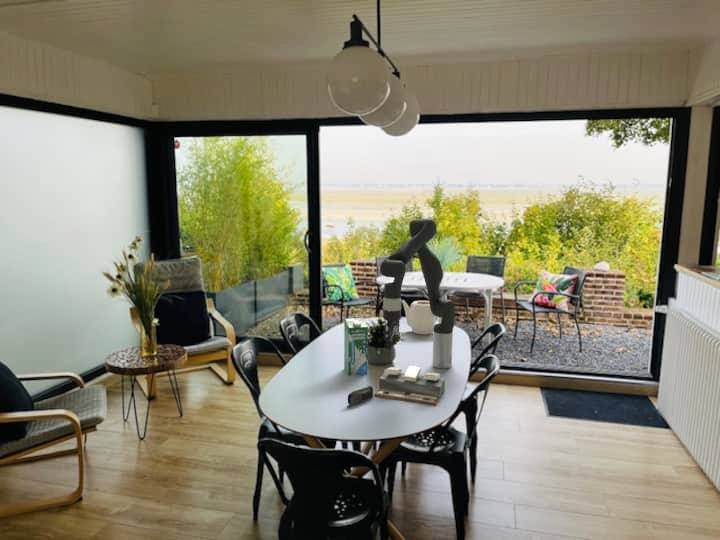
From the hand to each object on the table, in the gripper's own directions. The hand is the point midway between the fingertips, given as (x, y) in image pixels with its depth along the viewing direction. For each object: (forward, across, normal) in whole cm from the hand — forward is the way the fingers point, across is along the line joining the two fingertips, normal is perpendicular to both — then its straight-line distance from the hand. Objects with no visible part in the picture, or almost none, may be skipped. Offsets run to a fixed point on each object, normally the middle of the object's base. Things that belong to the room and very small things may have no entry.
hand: (391, 346), depth 214 cm
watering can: (+20, -96, -11) cm, 99 cm away
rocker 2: (+14, -4, +8) cm, 17 cm away
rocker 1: (+14, -4, 0) cm, 14 cm away
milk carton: (+20, -17, -23) cm, 35 cm away
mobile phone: (+20, +15, -9) cm, 26 cm away
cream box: (+14, -4, +17) cm, 22 cm away
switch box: (+20, -1, +8) cm, 22 cm away
